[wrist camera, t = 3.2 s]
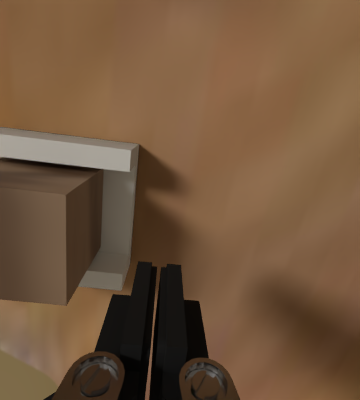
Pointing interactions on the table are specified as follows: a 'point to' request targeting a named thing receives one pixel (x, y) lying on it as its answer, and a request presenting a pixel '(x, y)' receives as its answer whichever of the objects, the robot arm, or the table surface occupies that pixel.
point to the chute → (112, 191)
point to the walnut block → (47, 228)
